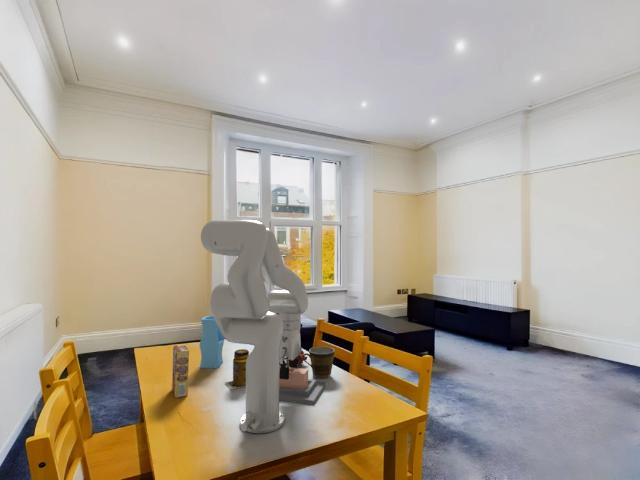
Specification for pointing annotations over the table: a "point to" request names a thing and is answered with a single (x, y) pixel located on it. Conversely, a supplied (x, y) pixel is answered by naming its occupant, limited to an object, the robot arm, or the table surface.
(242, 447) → the table surface
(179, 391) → the candy box
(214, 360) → the vase
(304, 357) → the dragon fruit
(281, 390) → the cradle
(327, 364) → the ceramic cup
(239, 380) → the condiment
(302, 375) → the pink block with hole
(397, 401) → the table surface
